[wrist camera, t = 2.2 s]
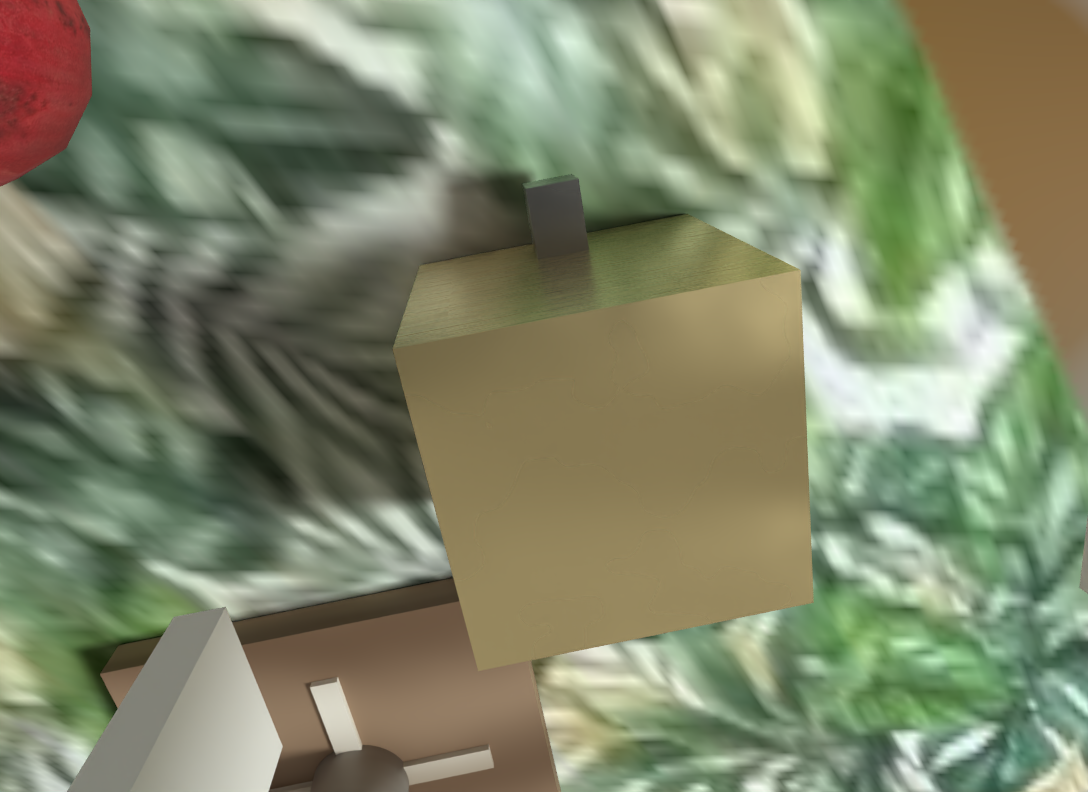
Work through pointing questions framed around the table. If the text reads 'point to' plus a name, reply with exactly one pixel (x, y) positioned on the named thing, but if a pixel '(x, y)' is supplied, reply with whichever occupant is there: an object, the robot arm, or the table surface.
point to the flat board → (385, 698)
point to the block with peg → (611, 429)
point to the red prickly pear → (40, 81)
